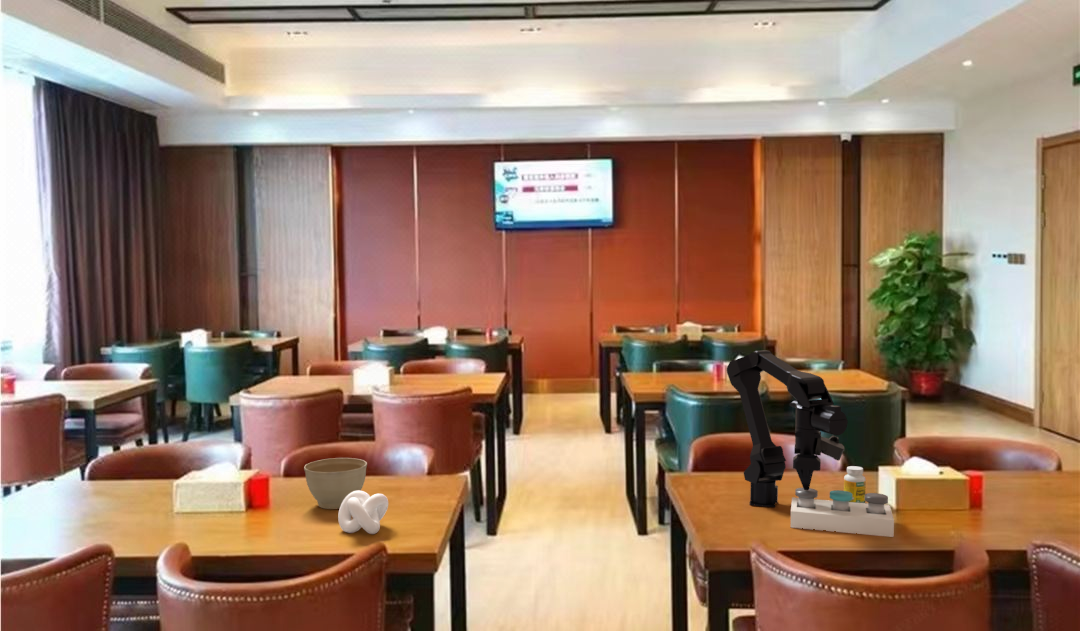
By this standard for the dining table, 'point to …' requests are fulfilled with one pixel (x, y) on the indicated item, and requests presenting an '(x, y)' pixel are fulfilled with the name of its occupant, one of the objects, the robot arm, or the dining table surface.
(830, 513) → the knob mount
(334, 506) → the planter bowl
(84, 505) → the dining table surface
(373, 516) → the white knot sculpture
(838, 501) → the middle knob
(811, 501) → the knob
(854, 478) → the supplement bottle
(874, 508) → the knob
